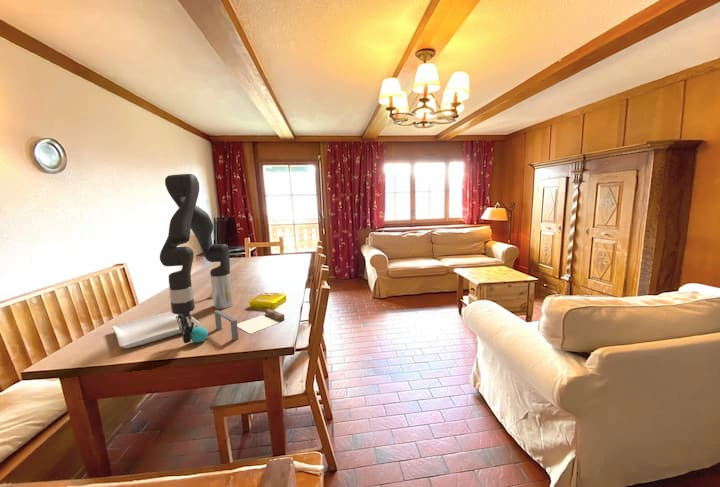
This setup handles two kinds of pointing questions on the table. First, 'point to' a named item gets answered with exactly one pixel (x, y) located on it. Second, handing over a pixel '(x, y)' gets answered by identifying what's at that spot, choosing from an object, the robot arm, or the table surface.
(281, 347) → the table surface
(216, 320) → the grey u-shaped frame
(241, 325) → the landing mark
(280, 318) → the stopper
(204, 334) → the ball
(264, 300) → the element tile
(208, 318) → the table surface
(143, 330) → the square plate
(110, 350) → the table surface
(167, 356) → the table surface
